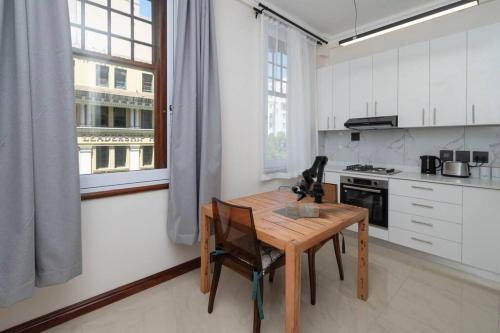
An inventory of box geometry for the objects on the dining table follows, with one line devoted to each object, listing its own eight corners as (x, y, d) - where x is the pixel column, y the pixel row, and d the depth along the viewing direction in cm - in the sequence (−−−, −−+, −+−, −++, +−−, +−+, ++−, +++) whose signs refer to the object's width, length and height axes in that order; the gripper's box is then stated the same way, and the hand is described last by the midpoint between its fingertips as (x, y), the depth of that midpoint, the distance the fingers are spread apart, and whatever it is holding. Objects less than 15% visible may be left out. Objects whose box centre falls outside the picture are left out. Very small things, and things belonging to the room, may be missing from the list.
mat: (285, 208, 184) (285, 207, 184) (308, 215, 167) (308, 214, 167) (271, 211, 176) (271, 211, 176) (294, 219, 158) (294, 218, 158)
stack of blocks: (285, 210, 176) (286, 216, 164) (286, 202, 175) (286, 207, 163) (316, 212, 173) (318, 217, 161) (316, 203, 173) (319, 208, 161)
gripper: (293, 176, 184) (282, 192, 178) (313, 179, 169) (302, 197, 164) (299, 185, 190) (289, 201, 184) (319, 188, 175) (309, 206, 169)
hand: (297, 201), depth 175 cm, fingers closed
